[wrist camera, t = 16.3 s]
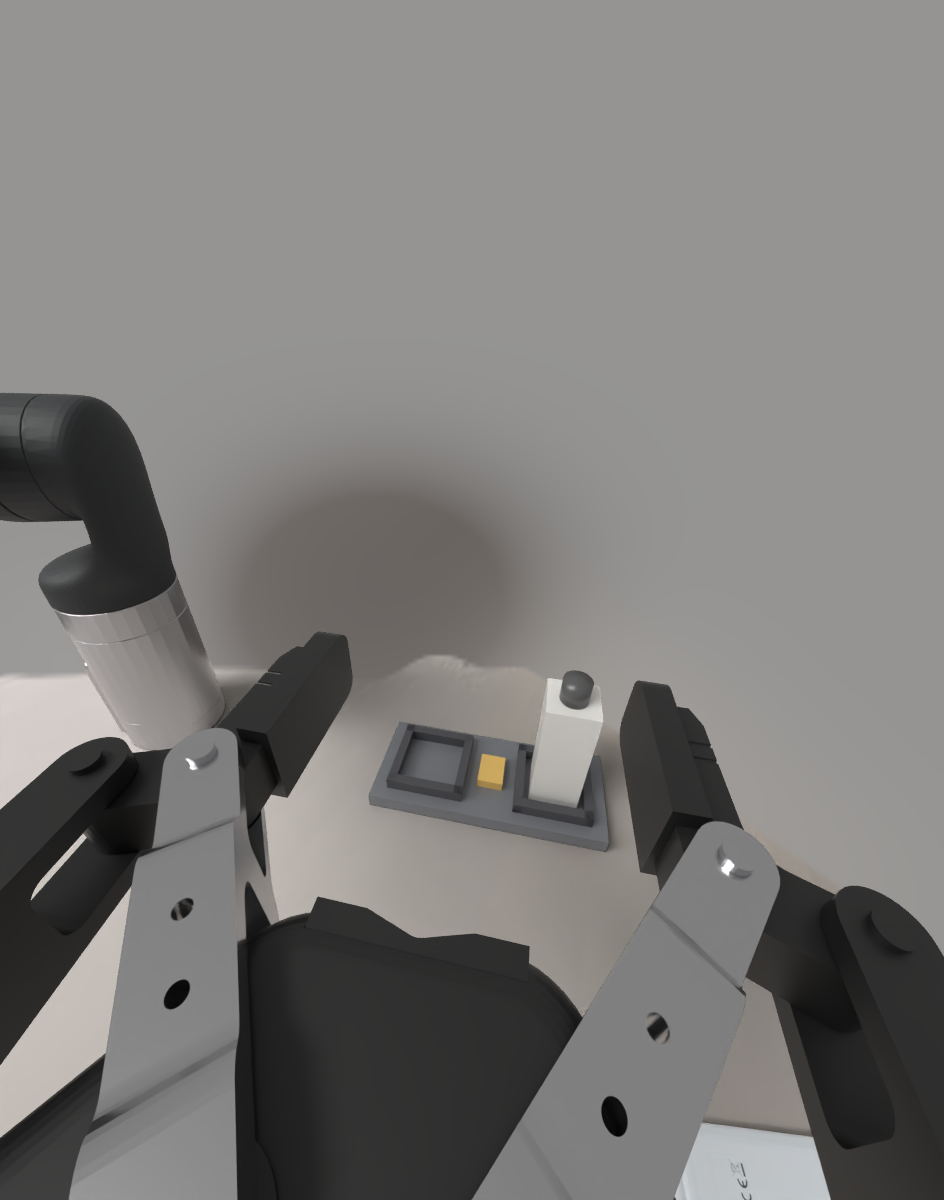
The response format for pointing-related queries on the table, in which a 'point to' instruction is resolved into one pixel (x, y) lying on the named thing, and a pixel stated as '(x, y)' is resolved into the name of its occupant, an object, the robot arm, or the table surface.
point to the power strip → (483, 786)
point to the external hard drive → (751, 1166)
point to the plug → (565, 739)
